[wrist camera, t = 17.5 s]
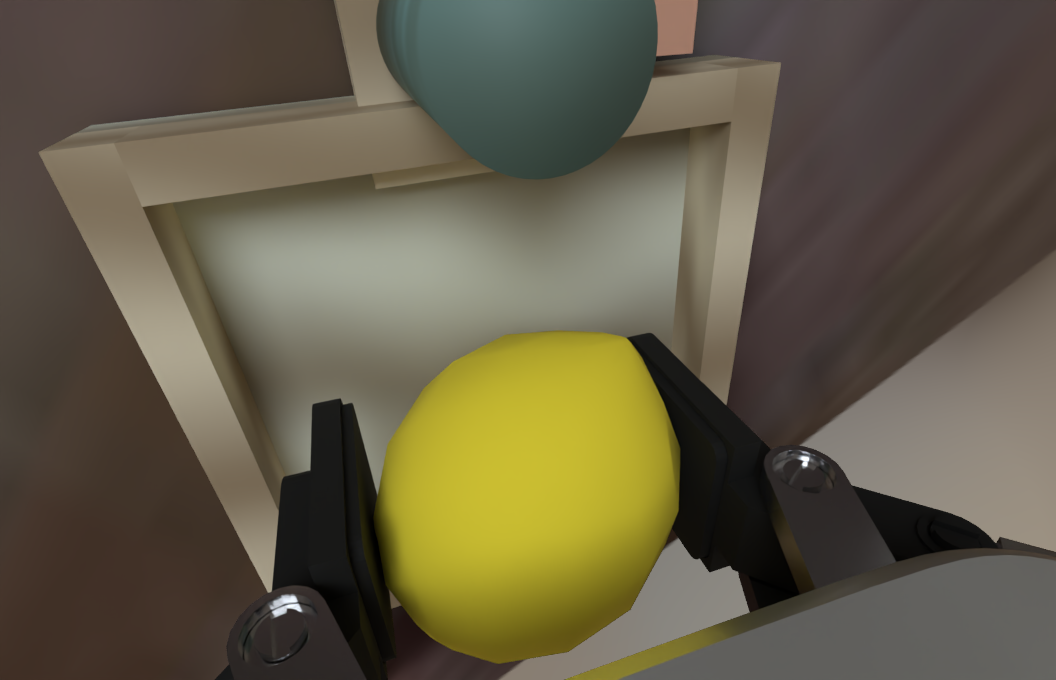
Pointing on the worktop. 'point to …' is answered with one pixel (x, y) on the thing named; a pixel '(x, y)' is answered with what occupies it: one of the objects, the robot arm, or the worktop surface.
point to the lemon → (528, 494)
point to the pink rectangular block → (675, 26)
